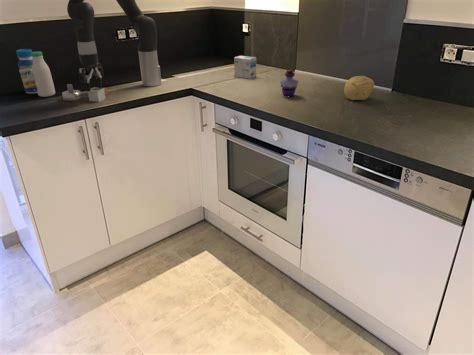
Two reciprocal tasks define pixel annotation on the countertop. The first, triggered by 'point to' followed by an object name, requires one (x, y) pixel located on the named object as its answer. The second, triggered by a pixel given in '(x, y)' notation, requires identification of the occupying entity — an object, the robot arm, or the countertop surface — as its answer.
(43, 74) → the milk bottle
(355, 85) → the tan lumpy round lump
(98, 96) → the socket
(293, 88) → the potion bottle
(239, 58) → the light bulb box
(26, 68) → the beverage bottle
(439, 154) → the countertop surface
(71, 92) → the ratchet
